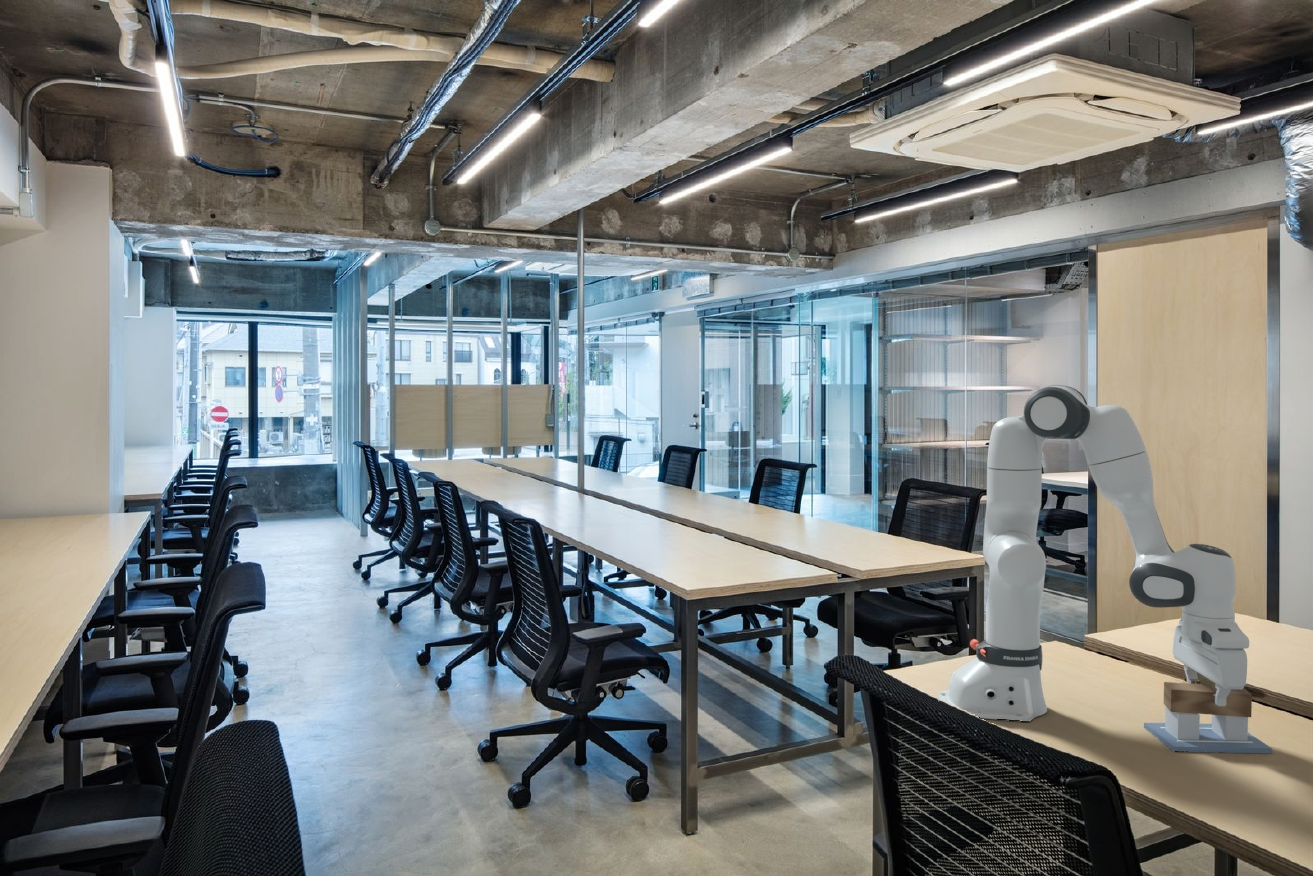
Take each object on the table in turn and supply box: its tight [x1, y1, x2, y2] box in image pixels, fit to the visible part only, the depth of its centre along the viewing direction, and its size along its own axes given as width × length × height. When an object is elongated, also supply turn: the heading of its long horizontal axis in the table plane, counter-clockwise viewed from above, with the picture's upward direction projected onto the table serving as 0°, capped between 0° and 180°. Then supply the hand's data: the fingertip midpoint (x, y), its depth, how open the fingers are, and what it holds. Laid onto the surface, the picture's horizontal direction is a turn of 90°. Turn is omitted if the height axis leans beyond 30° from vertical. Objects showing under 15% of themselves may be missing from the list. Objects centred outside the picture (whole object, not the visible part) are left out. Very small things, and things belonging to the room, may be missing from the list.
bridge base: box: [1143, 706, 1273, 754], centre depth 174 cm, size 18×12×6 cm, turn 85°
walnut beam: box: [1163, 681, 1253, 718], centre depth 173 cm, size 14×4×4 cm, turn 76°
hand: (1206, 696), depth 173 cm, fingers open, 8 cm apart
